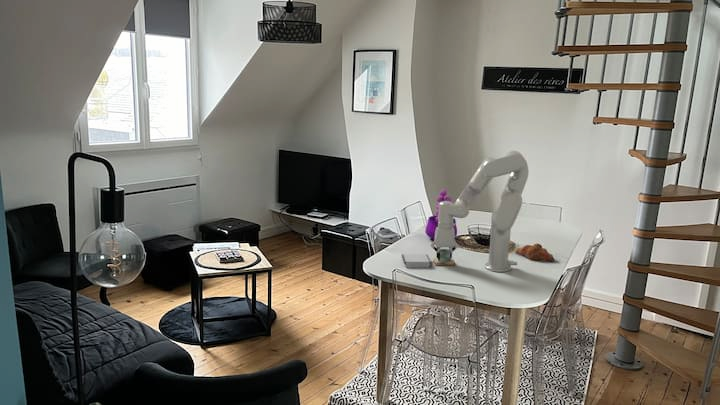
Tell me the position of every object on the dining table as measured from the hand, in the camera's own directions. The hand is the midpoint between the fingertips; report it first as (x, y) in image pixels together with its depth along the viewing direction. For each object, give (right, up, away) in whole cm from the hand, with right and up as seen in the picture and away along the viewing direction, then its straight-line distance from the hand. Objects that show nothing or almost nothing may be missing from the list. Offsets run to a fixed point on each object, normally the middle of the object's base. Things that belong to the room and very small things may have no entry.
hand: (444, 258), depth 272 cm
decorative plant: (+5, +7, +43) cm, 44 cm away
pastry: (+51, -1, +14) cm, 53 cm away
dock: (-15, -2, 0) cm, 15 cm away
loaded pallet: (0, -2, +1) cm, 2 cm away
